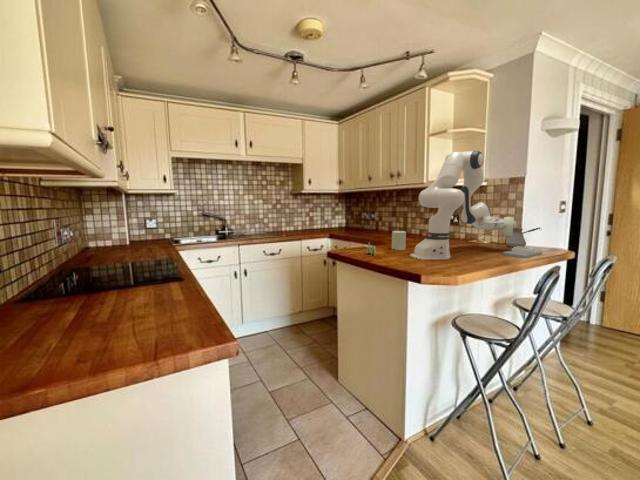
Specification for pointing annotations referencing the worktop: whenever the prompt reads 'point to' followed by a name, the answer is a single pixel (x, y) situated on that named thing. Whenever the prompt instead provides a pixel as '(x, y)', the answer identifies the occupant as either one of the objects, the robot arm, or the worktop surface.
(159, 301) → the worktop surface
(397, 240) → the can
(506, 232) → the post
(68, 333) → the worktop surface
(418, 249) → the robot arm
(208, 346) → the worktop surface
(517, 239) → the coffee pot
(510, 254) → the base board
